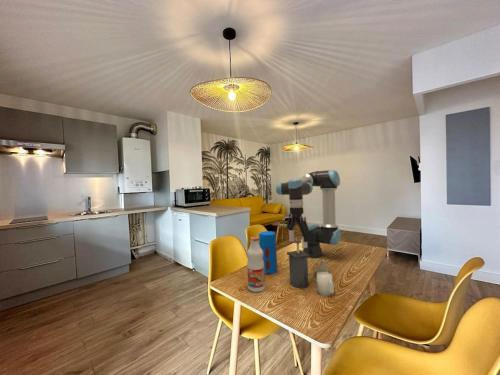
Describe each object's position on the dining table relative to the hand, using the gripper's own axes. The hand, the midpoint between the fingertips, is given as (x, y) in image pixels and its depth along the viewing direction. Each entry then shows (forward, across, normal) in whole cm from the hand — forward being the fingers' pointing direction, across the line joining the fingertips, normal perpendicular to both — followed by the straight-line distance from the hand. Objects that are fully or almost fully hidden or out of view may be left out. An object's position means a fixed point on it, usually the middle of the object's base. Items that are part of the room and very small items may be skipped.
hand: (297, 244), depth 117 cm
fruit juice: (+22, -5, -24) cm, 33 cm away
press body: (+22, -1, 0) cm, 22 cm away
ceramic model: (+23, 0, +16) cm, 28 cm away
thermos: (+22, -22, -9) cm, 33 cm away
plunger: (+14, 0, 0) cm, 14 cm away
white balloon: (+22, +14, +7) cm, 27 cm away
